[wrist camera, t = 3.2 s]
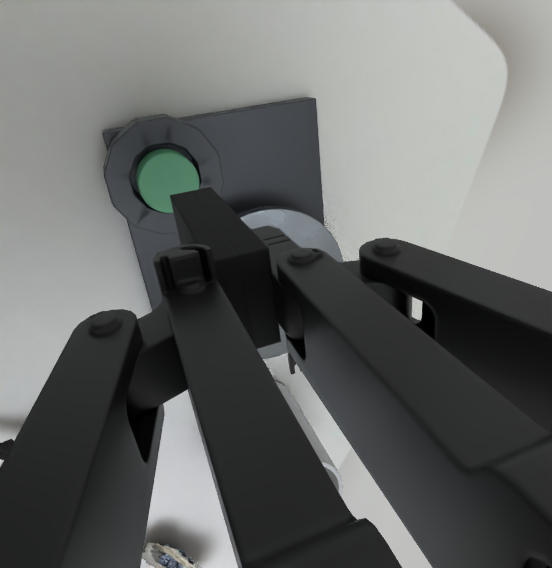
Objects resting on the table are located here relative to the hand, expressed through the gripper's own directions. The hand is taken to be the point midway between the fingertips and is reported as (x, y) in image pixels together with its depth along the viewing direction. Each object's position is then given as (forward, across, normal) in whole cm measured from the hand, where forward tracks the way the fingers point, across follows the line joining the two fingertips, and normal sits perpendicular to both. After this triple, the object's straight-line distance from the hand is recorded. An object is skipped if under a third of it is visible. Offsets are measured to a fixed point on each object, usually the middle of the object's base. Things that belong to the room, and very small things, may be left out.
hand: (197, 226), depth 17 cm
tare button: (+8, 0, 0) cm, 8 cm away
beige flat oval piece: (+9, -6, -32) cm, 33 cm away
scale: (+11, +3, -5) cm, 13 cm away
